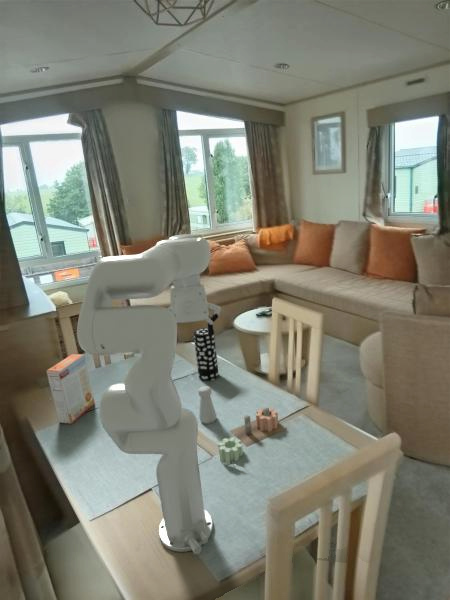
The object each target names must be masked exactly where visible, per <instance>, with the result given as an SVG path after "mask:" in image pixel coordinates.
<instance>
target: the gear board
mask: <svg viewBox="0 0 450 600" xmlns="http://www.w3.org/2000/svg"><path fill="white" fill-rule="evenodd" d="M263 408H264V409H263V411H264V416H270V415H269V409H270V407H263ZM243 419H244V424H242V425H240V426H237V427H236V428H234V429H231V430H229V432H230V433H231V434H232V435H234V436H235V438H236V439H237V440H238V439H239V440H241V444H242V445H243V444H244V446H246V447H249V446H251V445H255V444H257V443H258V442H261V441H263V440H265V439H267V438H270V437H272V436H274V435H276V434H278V433H281V432H282V431H285V430H287V427H286V426H284V425H283V424H281V422H279V421H278V425H277V426H278V428H277V429H272V431H270V432H268V430H264V431H261V430H260V428H257V425H256V419H255V420H252V421H251V416H250V415H248V414H247V415H245V416H244V417H243Z"/></svg>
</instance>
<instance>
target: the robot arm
mask: <svg viewBox="0 0 450 600" xmlns="http://www.w3.org/2000/svg"><path fill="white" fill-rule="evenodd" d="M211 252H212V250H211V246H210V244H209V242H208V240H207V239H206V238H204V237H202V236H201V237H198V236H197V237H195V236H194V235H192V234H189V233H187V234H186V233H185V234H184V233H183V234H176V235H172V236H170V237H169V238H168V239H162V240H160V241H157V243H156V244H155V245H154V246H152V247H150V248H149V249H147V250H145V251H143V252H141V253H137V254H127V255H114V256H113V255H112V256H105V257H102V258H100V259H99V260H97V261H96V263H95V265H94V266H93V268H92V270H91V273H90V275H89V278H88V280H87V284H86V288H85V292H84V294H83V295H84V296H83V300H82V304H81V308H80V311H79V316H78V320H77V327H76V336H77V337H76V338H77V342H78V344H79V347H80V348H81V350H83V351H84V352H85V353H86V354H88V355H93V356H113V355H114V356H115V355H118V356H119V355H137V354H139V355H141V356H140V357H139V358H138V359H136V361H135V362H134V363H133V364H132V365H131V367H130V368H129V369H128V371H127V373H126V374H125V376H124V379H123V380H124V381H123V382H118V383H114V384H111V385H109V386H108V387H107V388H105V390H104V391H103V393H102V395H101V397H100V399H99V405H98V406H99V408H98V411H99V418H100V419H99V420H100V422H101V425H102V428H103V429H104V431H105V433H107V435H108V436H109V438H111V440H112V442H113V443H114V444H115V445H116V446H117V448H118V449H119V450H120V451H121V452H122V453H125V454H128V455H161V456H160V458H159V460H158V462H157V464H156V468H155V475H156V480H157V487H158V494H159V498H160V499H159V501H160V505H161V510H162V517H163V518H162V520H161V522H160V524H159V527H158V536H159V539H160V542H161V543H162V545H163V546H164V547H166V548H167V549H169V550H170V551H174V552H180V553H182V552H183V553H184V552H188V551H192V553H193V554H194V555H198V554H200V553H201V551H203V550H202V545H204V544H207V543H208V541H209V538H210V536H211V535H212V532H213V530H214V529H213V527H214V525H213V517H212V516H211V513H210V512H209V511H208V510H207V509H206V508H205V505H204V504H205V503H204V496H203V488H202V483H201V474H200V467H199V457H198V435H199V434H198V433H199V432H198V431H199V430H198V429H199V428H198V426H199V425H198V418H197V416H196V414H195V413H194V412H193V411H191V410H190V409H187V408H184V407H182V402H181V398H180V396H179V392H178V391H177V388H176V386H175V382H174V381H173V379H172V370H173V367H174V363H175V357H176V352H177V342H179V335H178V325H177V324H184V323H185V324H186V323H193V322H201V321H206V323H207V328H208V332H209V338H212V337H211V334H214V335H215V331H214V332H213V330H214V323H215V322H216V320H217V319H218V318H219V316H220V313H221V312H222V308H221V306H220V305H217V304H214V303H211V302H208V299H207V293H206V288H205V285H204V283H203V282H201V277H200V275H201V273H203V272H204V271H205V270H206V269H207V268H208V267H209V264H210V262H211V255H212V253H211ZM170 285H171V286H170ZM169 286H170V289H169V290H170V292H169V297H170V298H169V302H170V306H168V307H167V308H166V307H164V306H161V305H155V304H138V305H122V306H112V302H113V301H123V300H124V301H126V300H139V299H149V298H150V299H151V298H154V297H157V296H159V295H161V294H162V293H163V292H164V291H165V290H166V289H167V288H168V287H169ZM209 309H211V310H212V311H214V313H213V314H212V315H209V314H210V313H209Z"/></svg>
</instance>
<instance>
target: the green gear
mask: <svg viewBox="0 0 450 600" xmlns="http://www.w3.org/2000/svg"><path fill="white" fill-rule="evenodd" d="M217 445H218V446H217V447H218V453H219V461H220V462H221V463H222V464H224V463H225V465H226V466H231V465H232V464H234V462H233V461H235V462H237V461H239V459H240V457H242V456H244V452H243V443H242V442H241V440H239V439H238V438H236V436H235V437H233V436H231V437H230V438H226V437H225V438H223V439H222V441H219V442H218V444H217Z"/></svg>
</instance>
